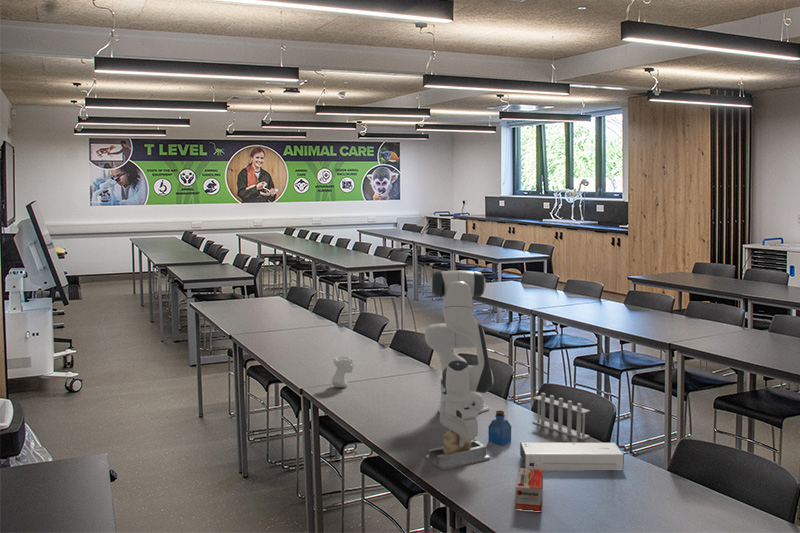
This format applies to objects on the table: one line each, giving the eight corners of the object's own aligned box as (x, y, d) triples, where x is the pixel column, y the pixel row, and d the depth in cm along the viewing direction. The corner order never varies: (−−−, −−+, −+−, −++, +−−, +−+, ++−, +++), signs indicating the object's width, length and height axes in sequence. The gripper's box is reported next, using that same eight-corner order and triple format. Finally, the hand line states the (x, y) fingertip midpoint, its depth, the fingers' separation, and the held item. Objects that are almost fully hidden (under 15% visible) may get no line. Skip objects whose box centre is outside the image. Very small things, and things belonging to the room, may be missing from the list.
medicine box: (517, 490, 222) (517, 466, 221) (542, 492, 221) (543, 468, 220) (514, 511, 208) (515, 486, 207) (542, 514, 206) (542, 489, 205)
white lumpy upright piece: (331, 385, 340) (331, 355, 338) (354, 384, 341) (353, 354, 339) (331, 390, 330) (331, 360, 328) (355, 389, 331) (354, 359, 330)
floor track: (471, 448, 258) (471, 437, 257) (490, 459, 247) (490, 448, 247) (425, 458, 248) (425, 447, 248) (442, 470, 238) (442, 459, 237)
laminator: (614, 458, 248) (614, 442, 247) (624, 473, 235) (624, 455, 235) (520, 458, 249) (520, 442, 248) (525, 472, 236) (525, 455, 236)
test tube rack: (589, 437, 268) (590, 404, 266) (582, 440, 265) (583, 407, 263) (539, 420, 287) (539, 390, 285) (532, 423, 284) (532, 392, 282)
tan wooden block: (466, 446, 251) (466, 428, 250) (471, 449, 248) (471, 431, 248) (443, 452, 246) (443, 433, 246) (447, 454, 244) (447, 436, 243)
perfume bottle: (498, 437, 268) (498, 408, 266) (511, 441, 264) (511, 411, 262) (488, 442, 264) (488, 411, 262) (501, 446, 259) (501, 415, 258)
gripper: (435, 400, 253) (435, 436, 255) (465, 416, 235) (465, 455, 237) (449, 397, 256) (449, 433, 258) (481, 413, 238) (480, 451, 240)
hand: (457, 443), depth 247 cm, fingers closed on tan wooden block, 3 cm apart
